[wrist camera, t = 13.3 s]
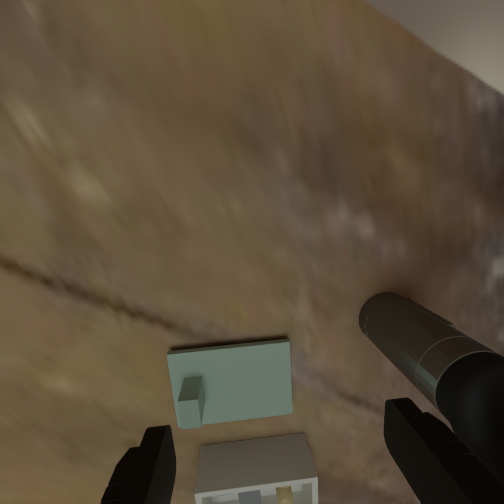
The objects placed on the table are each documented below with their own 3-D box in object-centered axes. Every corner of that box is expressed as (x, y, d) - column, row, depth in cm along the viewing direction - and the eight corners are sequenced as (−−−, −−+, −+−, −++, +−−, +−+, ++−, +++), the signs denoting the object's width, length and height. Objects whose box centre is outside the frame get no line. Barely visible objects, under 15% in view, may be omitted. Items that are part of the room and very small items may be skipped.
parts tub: (304, 432, 49) (317, 477, 41) (305, 488, 52) (318, 539, 44) (200, 445, 48) (194, 493, 40) (208, 501, 51) (204, 556, 43)
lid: (286, 334, 45) (297, 360, 37) (289, 402, 48) (299, 439, 40) (170, 346, 44) (157, 375, 36) (181, 415, 47) (171, 456, 39)
